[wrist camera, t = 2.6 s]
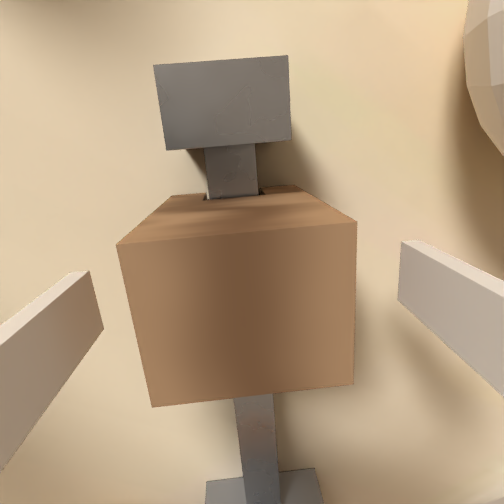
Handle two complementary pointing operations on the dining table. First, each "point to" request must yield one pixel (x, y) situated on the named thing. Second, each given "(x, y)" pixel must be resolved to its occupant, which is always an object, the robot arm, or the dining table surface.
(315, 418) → the dining table surface
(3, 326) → the robot arm
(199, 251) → the carriage
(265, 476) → the rail
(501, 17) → the vase
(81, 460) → the dining table surface
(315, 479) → the housing
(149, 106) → the dining table surface
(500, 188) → the dining table surface
